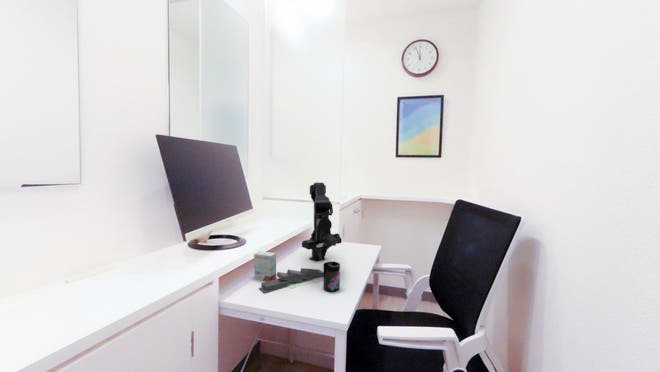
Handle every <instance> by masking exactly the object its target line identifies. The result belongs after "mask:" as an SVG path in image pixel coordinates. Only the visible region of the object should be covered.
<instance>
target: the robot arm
mask: <svg viewBox="0 0 660 372" xmlns="http://www.w3.org/2000/svg"><path fill="white" fill-rule="evenodd" d="M326 193H327V187H326V184H325V183H324V182H313V184H311V185H309V195H310V199H311V200H312V202H313V230H312V233H310V238H309V239H305V240H302V242H301V247H302V248H304V249H306V250H310V251H311V256H310V257H309V260H311V261H314V262H316V263H317V262H321V261H325V260H326V258H325V256H326V253H327V252H328V250H329V248H331V247H333V246H334V247H335V246H337V244H338V245H339V244H341V243H342V237H341V235H340V234H339V233H332V232H331V231H332V230H331V229H332V227H333V226H332V225H333V223H332V221H331V220H330V217H329V216H333V213H334V209H333V204H332V201H330V198H329V197H328V196H327V195H326Z"/></svg>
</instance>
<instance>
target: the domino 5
mask: <svg viewBox="0 0 660 372" xmlns="http://www.w3.org/2000/svg"><path fill="white" fill-rule="evenodd" d="M321 270H322V269H315V268H303V267H301V268H300V272H302V273H303V274H305V275H310V276H323V273H324V272H322V271H321Z"/></svg>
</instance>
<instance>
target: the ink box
mask: <svg viewBox="0 0 660 372" xmlns="http://www.w3.org/2000/svg"><path fill="white" fill-rule="evenodd" d="M253 262H254V263H253V264H254V266H253V267H254V268H253V269H254V271H253V272H254V273H253V275H254V280H256V281H261V282H267V281H271V280H275V279H277V253H276V252H270V251H269V252H268V251H267V252H266V251H261V250H260V251H258V252H255V253H254V254H253Z"/></svg>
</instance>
